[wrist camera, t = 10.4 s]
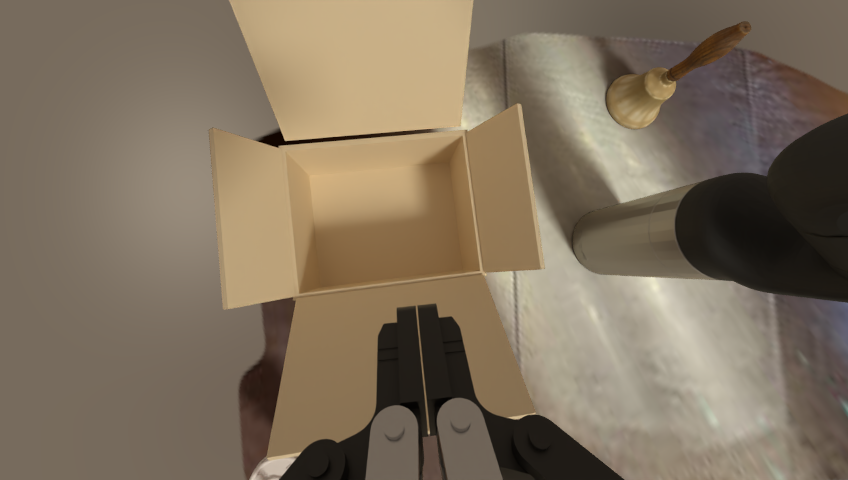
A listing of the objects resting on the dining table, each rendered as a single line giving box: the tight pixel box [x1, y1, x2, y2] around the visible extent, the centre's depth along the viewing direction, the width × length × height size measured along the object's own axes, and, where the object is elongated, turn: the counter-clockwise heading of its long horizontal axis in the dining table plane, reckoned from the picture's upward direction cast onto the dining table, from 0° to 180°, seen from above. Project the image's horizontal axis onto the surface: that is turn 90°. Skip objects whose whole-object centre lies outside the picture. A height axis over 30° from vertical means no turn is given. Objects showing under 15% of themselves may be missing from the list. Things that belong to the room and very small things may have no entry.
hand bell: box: [606, 22, 751, 129], centre depth 41 cm, size 8×8×16 cm
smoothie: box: [250, 456, 298, 480], centre depth 35 cm, size 6×6×14 cm
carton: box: [209, 103, 545, 461], centre depth 34 cm, size 28×26×20 cm
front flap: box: [229, 0, 473, 141], centre depth 29 cm, size 18×14×1 cm
